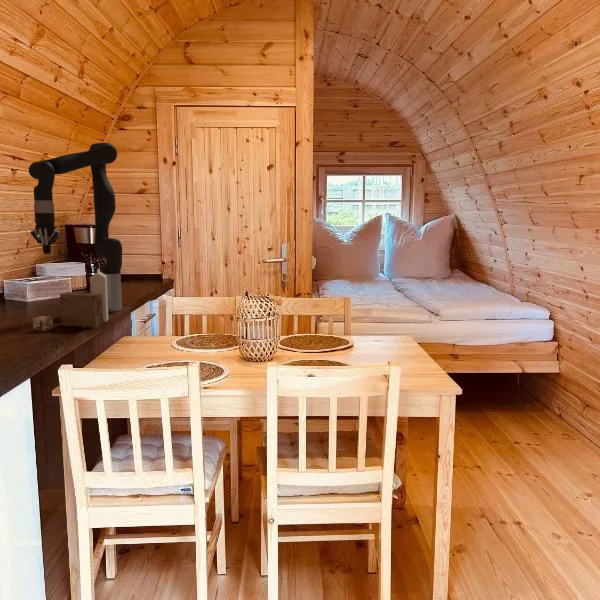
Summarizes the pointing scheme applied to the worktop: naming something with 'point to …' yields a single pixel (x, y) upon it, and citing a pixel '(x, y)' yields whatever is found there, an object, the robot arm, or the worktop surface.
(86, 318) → the walnut panel
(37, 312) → the worktop surface
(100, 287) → the milk
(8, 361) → the worktop surface
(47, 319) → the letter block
